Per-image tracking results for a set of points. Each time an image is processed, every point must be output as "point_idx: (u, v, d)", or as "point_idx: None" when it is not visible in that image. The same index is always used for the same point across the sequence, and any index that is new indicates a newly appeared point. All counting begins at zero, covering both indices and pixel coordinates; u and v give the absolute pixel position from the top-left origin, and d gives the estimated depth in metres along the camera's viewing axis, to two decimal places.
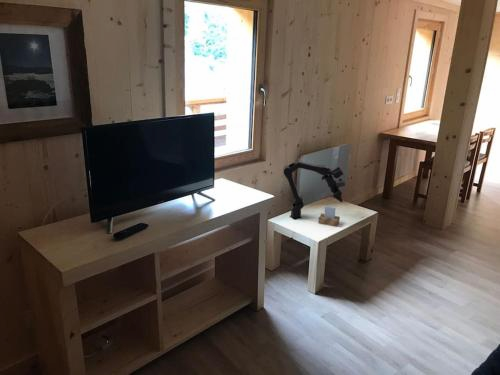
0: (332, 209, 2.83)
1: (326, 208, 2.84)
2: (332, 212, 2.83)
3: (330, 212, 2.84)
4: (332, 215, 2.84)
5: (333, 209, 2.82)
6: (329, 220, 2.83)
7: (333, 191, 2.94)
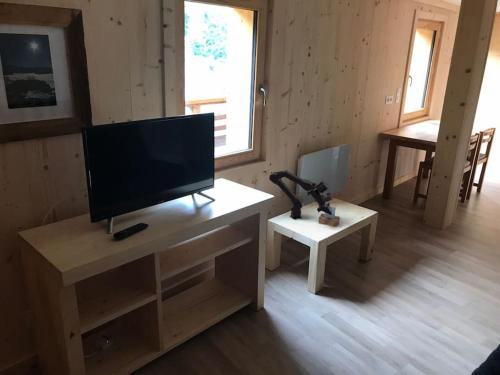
0: (332, 209, 2.83)
1: None
2: (332, 212, 2.83)
3: None
4: (332, 215, 2.84)
5: (333, 209, 2.82)
6: (329, 220, 2.83)
7: None
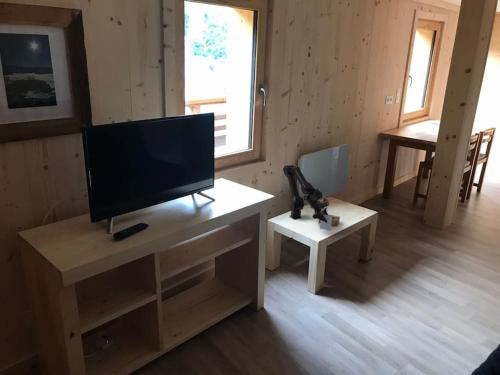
0: (328, 218, 2.74)
1: None
2: (329, 220, 2.74)
3: None
4: (328, 224, 2.75)
5: (329, 218, 2.73)
6: None
7: (321, 213, 2.80)
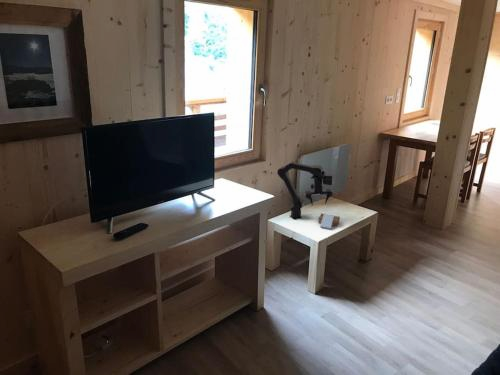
0: (331, 216, 2.81)
1: (325, 215, 2.83)
2: (331, 218, 2.80)
3: (328, 218, 2.81)
4: (330, 221, 2.79)
5: (332, 216, 2.81)
6: None
7: (311, 198, 2.84)
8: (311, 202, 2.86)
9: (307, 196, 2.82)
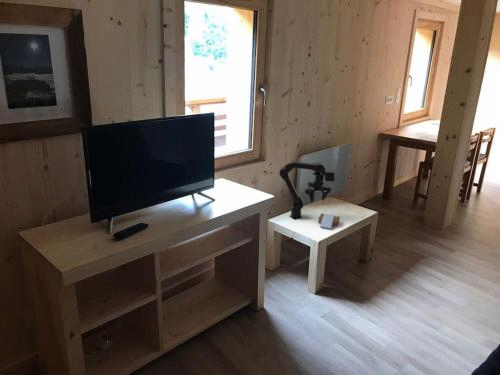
0: (331, 216, 2.81)
1: (325, 215, 2.83)
2: (331, 218, 2.80)
3: (328, 218, 2.81)
4: (330, 221, 2.79)
5: (332, 216, 2.81)
6: None
7: (313, 195, 2.84)
8: (312, 199, 2.85)
9: (311, 193, 2.81)
